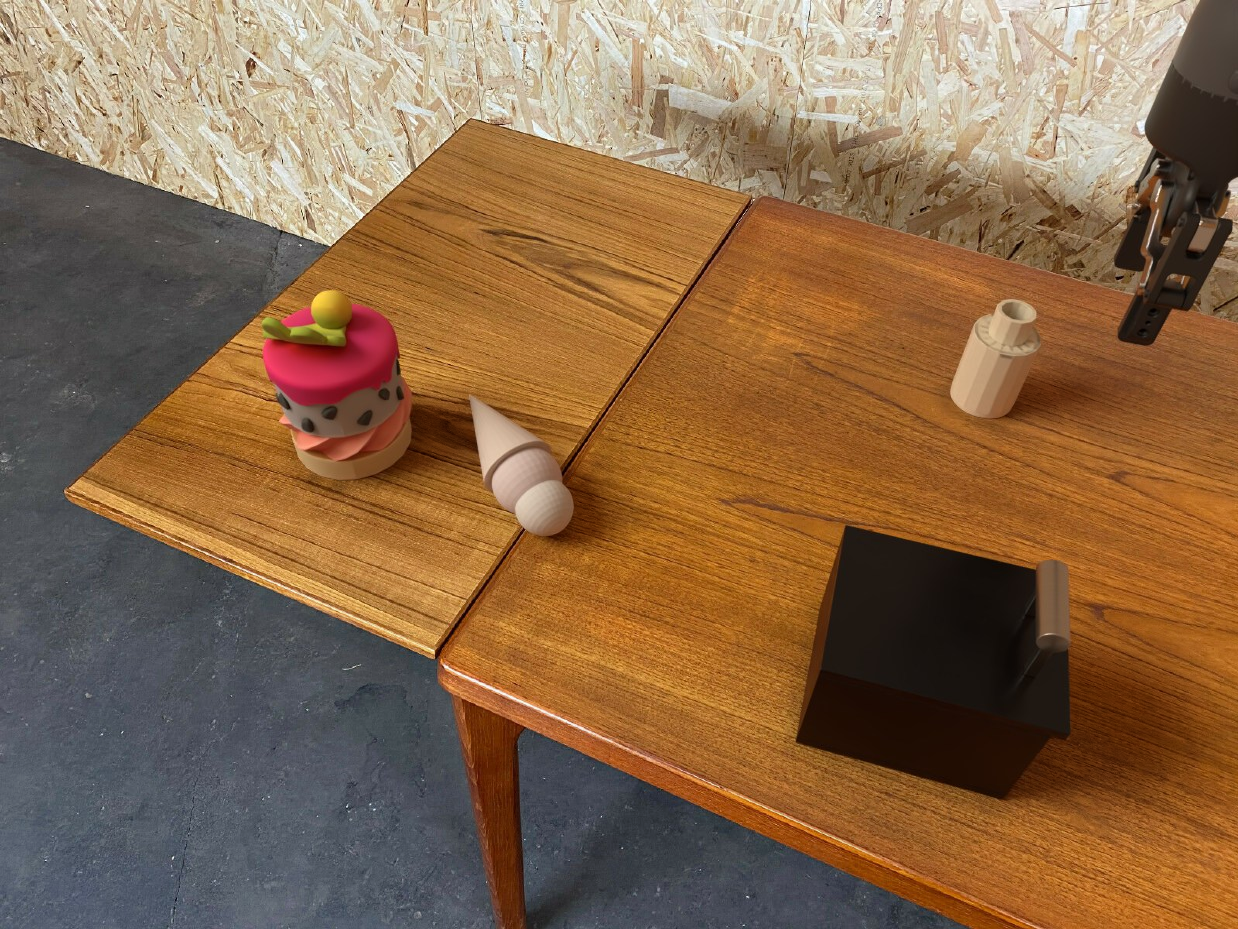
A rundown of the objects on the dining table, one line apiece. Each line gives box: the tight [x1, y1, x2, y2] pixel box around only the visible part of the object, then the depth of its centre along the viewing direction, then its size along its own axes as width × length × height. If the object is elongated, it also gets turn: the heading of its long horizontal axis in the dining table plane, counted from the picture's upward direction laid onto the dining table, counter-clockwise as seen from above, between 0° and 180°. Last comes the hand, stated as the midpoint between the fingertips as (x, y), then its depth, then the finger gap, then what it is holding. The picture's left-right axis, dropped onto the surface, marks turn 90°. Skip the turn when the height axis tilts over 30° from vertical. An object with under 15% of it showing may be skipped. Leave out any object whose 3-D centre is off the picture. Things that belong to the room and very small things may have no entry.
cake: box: [261, 289, 413, 481], centre depth 77 cm, size 10×11×15 cm
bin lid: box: [818, 524, 1072, 742], centre depth 58 cm, size 14×12×6 cm
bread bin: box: [795, 534, 1052, 800], centre depth 64 cm, size 14×12×9 cm
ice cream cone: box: [468, 393, 575, 537], centre depth 77 cm, size 6×6×15 cm
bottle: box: [949, 298, 1042, 419], centre depth 84 cm, size 6×6×10 cm
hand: (1130, 302), depth 65 cm, fingers open, 8 cm apart
